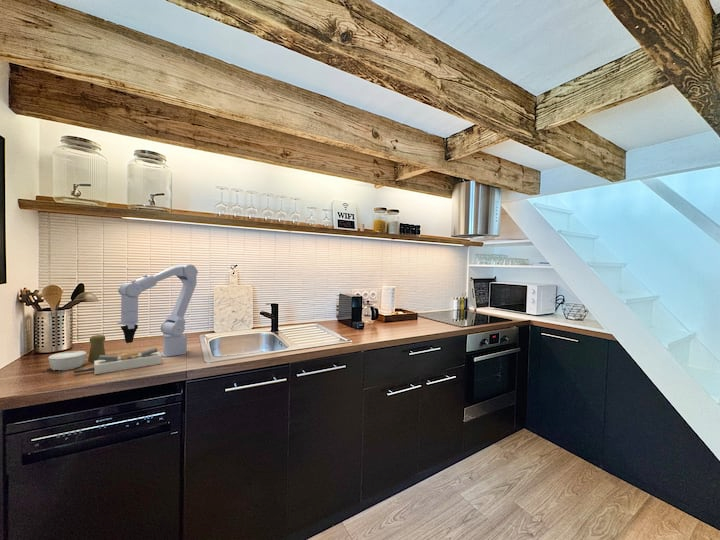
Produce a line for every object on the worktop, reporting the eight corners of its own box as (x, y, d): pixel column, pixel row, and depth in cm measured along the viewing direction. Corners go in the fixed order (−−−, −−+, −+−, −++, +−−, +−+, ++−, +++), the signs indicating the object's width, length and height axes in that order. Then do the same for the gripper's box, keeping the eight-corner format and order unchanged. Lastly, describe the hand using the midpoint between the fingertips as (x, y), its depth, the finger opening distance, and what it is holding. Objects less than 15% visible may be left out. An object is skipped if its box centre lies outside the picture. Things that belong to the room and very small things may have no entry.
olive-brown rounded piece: (104, 357, 134) (105, 333, 134) (107, 360, 130) (108, 335, 130) (86, 360, 129) (87, 335, 129) (88, 363, 125) (89, 337, 125)
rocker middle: (137, 353, 127) (137, 350, 127) (138, 355, 125) (138, 352, 125) (120, 356, 123) (120, 354, 123) (121, 358, 121) (121, 355, 121)
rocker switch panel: (159, 359, 134) (159, 350, 134) (161, 363, 129) (162, 353, 129) (74, 372, 115) (74, 361, 115) (73, 377, 110) (73, 366, 110)
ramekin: (83, 360, 129) (84, 348, 128) (88, 367, 121) (88, 354, 121) (46, 367, 120) (46, 354, 120) (49, 374, 113) (49, 360, 113)
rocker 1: (116, 358, 122) (117, 355, 122) (116, 360, 120) (117, 357, 120) (98, 358, 118) (99, 355, 119) (99, 360, 116) (100, 356, 116)
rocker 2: (156, 350, 132) (156, 347, 131) (157, 351, 129) (157, 349, 129) (141, 354, 128) (140, 352, 128) (142, 356, 126) (141, 354, 125)
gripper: (116, 309, 128) (115, 340, 128) (118, 314, 117) (118, 348, 117) (136, 308, 132) (135, 337, 133) (140, 312, 122) (140, 345, 122)
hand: (129, 342), depth 125 cm, fingers closed
